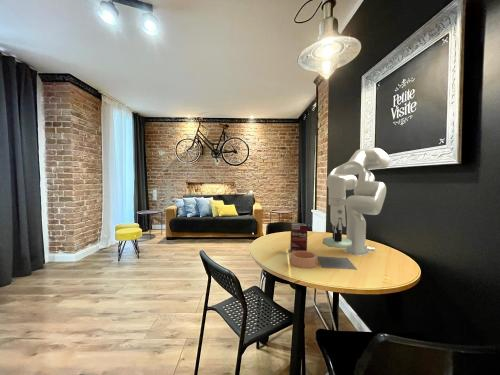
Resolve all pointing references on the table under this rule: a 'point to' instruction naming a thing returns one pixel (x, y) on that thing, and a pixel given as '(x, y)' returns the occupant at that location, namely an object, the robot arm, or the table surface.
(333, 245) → the lid
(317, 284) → the table surface
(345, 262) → the mat
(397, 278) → the table surface
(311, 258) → the bowl
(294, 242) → the supplement box
